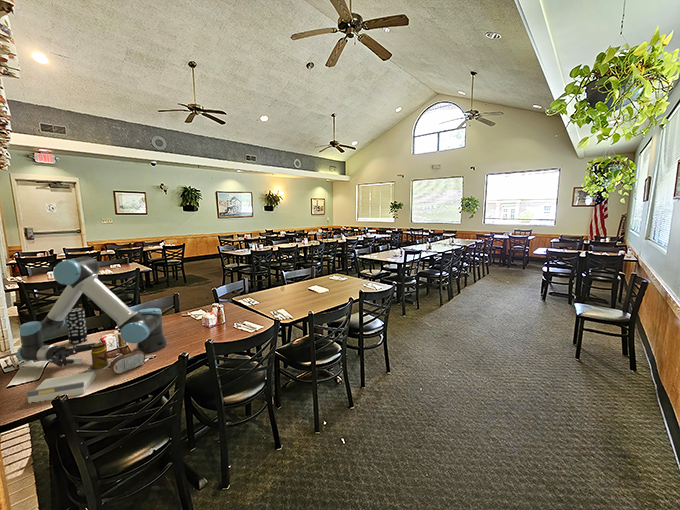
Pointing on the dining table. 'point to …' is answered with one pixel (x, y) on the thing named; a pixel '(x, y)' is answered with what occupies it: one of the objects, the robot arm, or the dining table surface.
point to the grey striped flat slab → (61, 387)
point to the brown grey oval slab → (127, 362)
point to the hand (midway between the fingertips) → (93, 354)
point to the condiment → (98, 357)
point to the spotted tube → (76, 326)
